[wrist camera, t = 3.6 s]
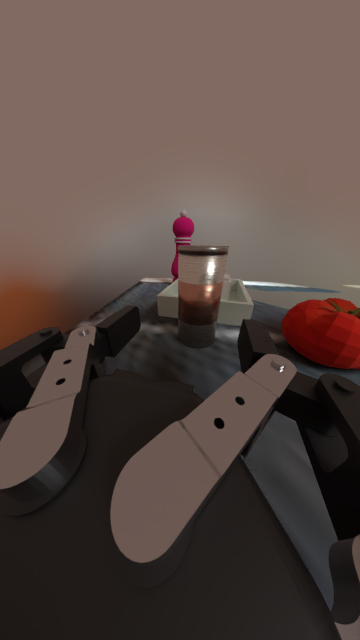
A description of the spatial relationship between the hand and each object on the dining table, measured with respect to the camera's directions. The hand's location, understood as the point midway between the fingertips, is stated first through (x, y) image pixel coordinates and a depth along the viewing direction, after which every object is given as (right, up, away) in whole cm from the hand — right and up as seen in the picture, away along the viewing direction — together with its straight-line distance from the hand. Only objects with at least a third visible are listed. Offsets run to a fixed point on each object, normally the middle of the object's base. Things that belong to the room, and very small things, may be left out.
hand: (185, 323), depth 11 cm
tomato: (+19, -4, +8) cm, 21 cm away
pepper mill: (0, +12, +37) cm, 39 cm away
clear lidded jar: (+2, -2, +11) cm, 11 cm away
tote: (+5, +4, +23) cm, 24 cm away
